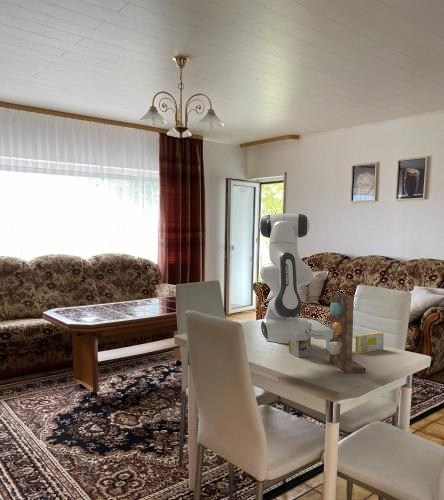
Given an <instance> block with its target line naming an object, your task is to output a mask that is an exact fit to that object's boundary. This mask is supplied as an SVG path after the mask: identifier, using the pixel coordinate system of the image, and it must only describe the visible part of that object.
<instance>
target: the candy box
mask: <svg viewBox="0 0 444 500" xmlns="http://www.w3.org/2000/svg"><path fill="white" fill-rule="evenodd" d="M384 343H385V342H384V332H382V331H379V332H371V333H365V334H363V333H362V334H355V346H354V347H355V351H354V352H355V353H356V354H363V353H364V352H365V353H370V352H371V351H372V352H378V351H377V350H379V351H383V349H384V345H385V344H384ZM365 353H364V354H365Z"/></svg>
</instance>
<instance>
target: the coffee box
mask: <svg viewBox="0 0 444 500" xmlns="http://www.w3.org/2000/svg"><path fill="white" fill-rule="evenodd" d="M298 317H299V318H304V317H303V316H298ZM292 318H295V317H292ZM311 338H312V337H309V338H308V340H305V341H293V340H289V344H288V353H290V354H291V355H294V356H296V357H297V358H305V357H311Z"/></svg>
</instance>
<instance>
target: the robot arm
mask: <svg viewBox="0 0 444 500" xmlns="http://www.w3.org/2000/svg"><path fill="white" fill-rule="evenodd" d="M310 226H311V225H310V220H309V219H308V217H307V215H305V214H301V213H298V214H297V213H289V212H288V213H286V212H285V213H274V214H265V215H263V216H261V218H260V221H259V225H258V227H259V231H260V234H261V235H262V237H264V238H268V239H269V243H268V244H269V246H268V253H269V260H270V263H264V265H263V266H262V267H261V270H260V279H261V280H262V282H263V283H265V284H266V285H267V286H268V287H269V289H270V290H271V292H272V295H273V297H272V298H271V299H270V300H269V302H268V304H267V308H266V313H265V315H264V318H263V319H262V320H261V323H260V330H261V333H262V336H263V338H265V341H267V342H273V343H278V344H286V345H287V344H288V345H289V340H293V341H305V340H308V338H309V337H311V338H313V339H316V340H326V339H333V332H335V331H336V328H335V327H333V326H330V325H328V324H327V325H326V324H322V323H321V322H319V321H318V320H316V319H311V318H306V317H303V318H299V317H300V316H298V314H299V312H300V311H301V309H302V300H301V296H300V295H299V292H298V291H299V290H298V287H297V286H307V285H309V284H310V283H311V281H312V280H313V277H314V274H313V269H312V268H311V267H310V266H309V265H308V264H306V263H305V262H304V261H303V259H301V257H300V255H299V254H300V253H299V251H298V238H304V237H306V236H307V235H308V233H309V230H310ZM292 317H295V318H292Z"/></svg>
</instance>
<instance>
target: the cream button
mask: <svg viewBox="0 0 444 500" xmlns="http://www.w3.org/2000/svg"><path fill="white" fill-rule="evenodd" d="M328 352H329V355H330V354H331V355H334V354H341V343H340V342H330V343H329V350H328Z"/></svg>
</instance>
